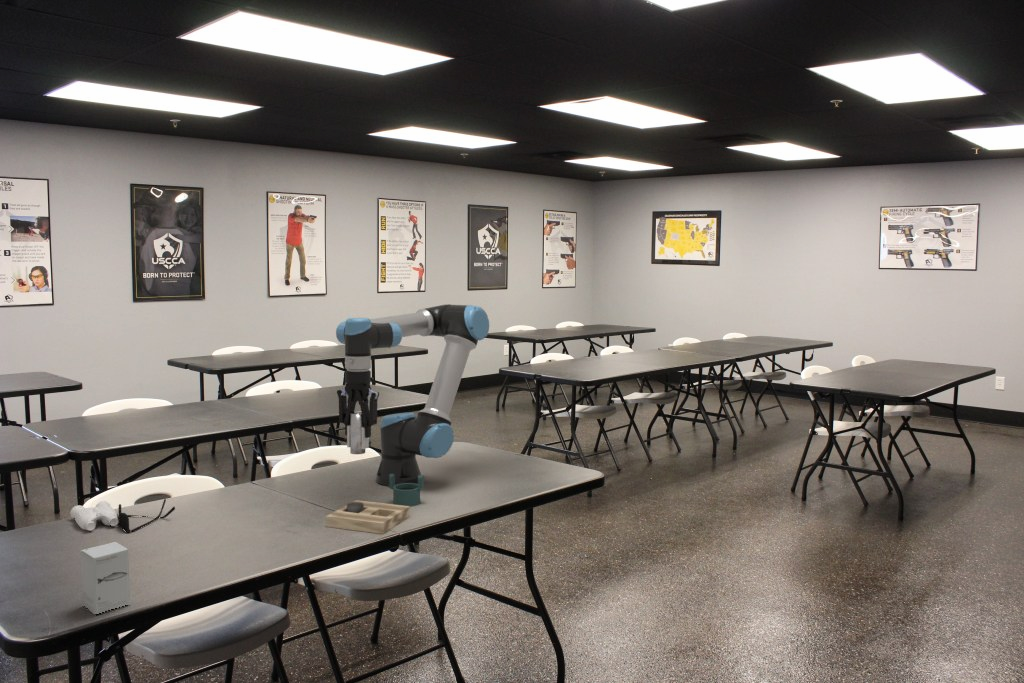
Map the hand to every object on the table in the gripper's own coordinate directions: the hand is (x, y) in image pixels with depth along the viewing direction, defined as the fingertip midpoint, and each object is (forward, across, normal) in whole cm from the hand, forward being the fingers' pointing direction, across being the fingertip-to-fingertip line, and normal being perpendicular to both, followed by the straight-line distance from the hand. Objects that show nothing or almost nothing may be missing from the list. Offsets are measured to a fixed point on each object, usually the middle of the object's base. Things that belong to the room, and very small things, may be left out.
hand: (357, 447), depth 230 cm
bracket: (+19, +10, +12) cm, 25 cm away
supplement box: (+21, -13, -77) cm, 81 cm away
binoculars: (+21, -62, -39) cm, 76 cm away
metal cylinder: (+2, 0, 0) cm, 2 cm away
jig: (+19, +9, -8) cm, 23 cm away
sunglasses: (+21, -50, -32) cm, 63 cm away
